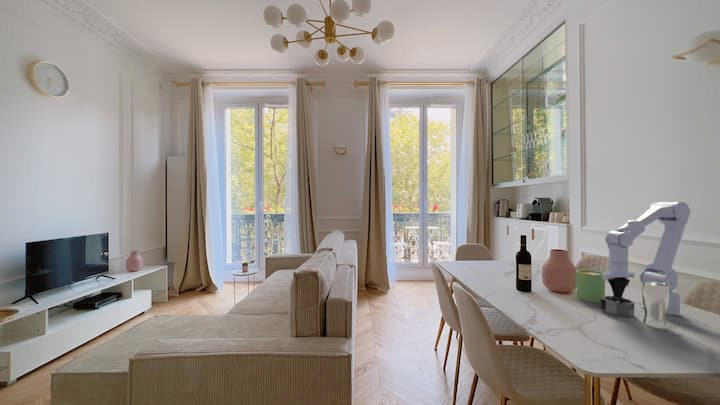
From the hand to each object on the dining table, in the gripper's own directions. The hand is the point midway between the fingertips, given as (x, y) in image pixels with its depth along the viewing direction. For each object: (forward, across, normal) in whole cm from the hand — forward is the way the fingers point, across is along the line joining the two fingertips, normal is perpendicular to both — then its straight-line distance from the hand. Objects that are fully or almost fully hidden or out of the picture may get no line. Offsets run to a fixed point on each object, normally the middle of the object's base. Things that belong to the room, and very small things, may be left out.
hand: (617, 296), depth 120 cm
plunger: (+5, 0, 0) cm, 5 cm away
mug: (+7, -6, -17) cm, 19 cm away
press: (+6, 0, 0) cm, 6 cm away
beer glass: (+7, 0, +12) cm, 14 cm away
